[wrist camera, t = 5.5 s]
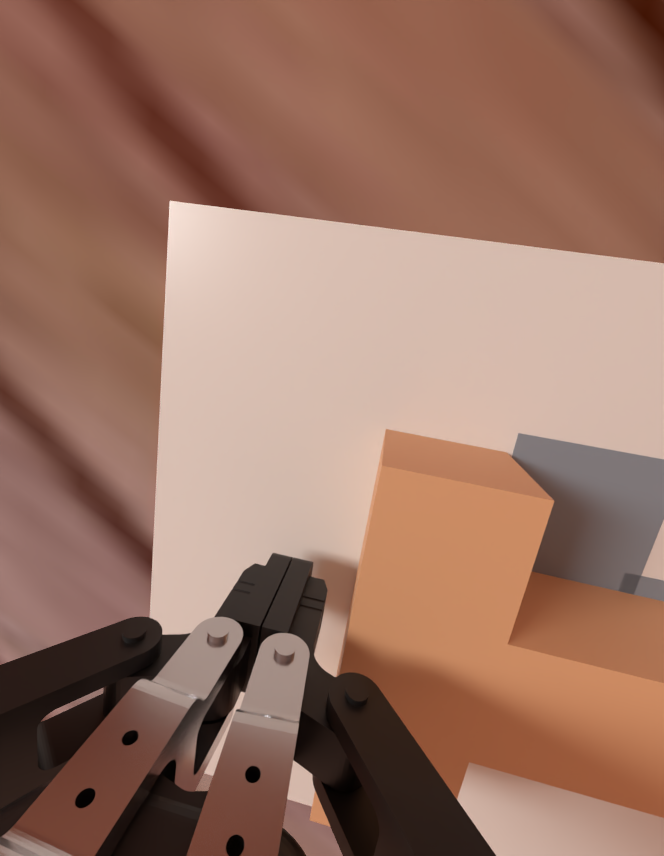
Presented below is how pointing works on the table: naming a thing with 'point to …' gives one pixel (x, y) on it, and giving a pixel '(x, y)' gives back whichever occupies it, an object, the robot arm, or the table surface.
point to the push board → (405, 431)
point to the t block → (500, 633)
